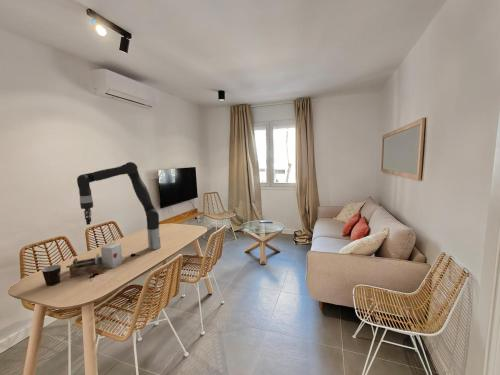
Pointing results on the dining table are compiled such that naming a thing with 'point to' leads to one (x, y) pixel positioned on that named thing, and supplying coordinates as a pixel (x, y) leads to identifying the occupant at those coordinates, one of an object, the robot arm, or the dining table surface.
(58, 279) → the coffee mug
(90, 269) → the brown wooden box
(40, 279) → the dining table surface
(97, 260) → the pusher plate
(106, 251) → the supplement box
